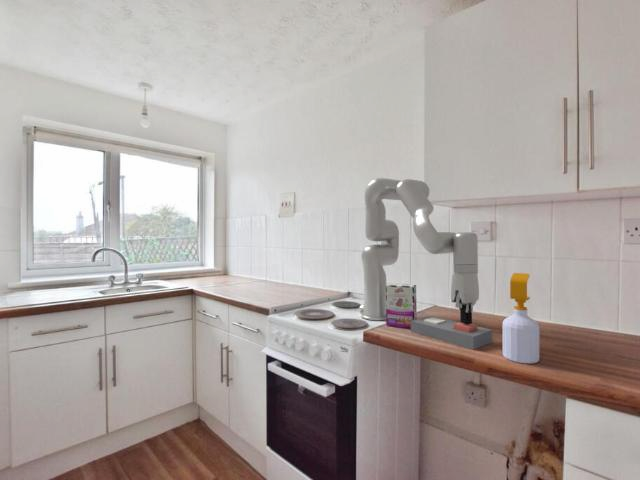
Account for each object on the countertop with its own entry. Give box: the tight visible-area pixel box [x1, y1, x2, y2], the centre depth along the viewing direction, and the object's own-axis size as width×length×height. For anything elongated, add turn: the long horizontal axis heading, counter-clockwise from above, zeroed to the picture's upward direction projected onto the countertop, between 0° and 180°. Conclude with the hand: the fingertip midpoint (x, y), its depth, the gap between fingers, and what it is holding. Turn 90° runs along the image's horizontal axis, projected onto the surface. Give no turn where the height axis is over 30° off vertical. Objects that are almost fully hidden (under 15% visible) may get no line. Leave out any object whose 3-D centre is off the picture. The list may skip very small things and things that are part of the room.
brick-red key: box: [454, 321, 479, 333], centre depth 111 cm, size 5×5×2 cm
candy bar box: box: [385, 283, 418, 330], centre depth 129 cm, size 11×5×16 cm, turn 62°
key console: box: [410, 315, 493, 350], centre depth 116 cm, size 24×12×4 cm, turn 36°
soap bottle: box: [502, 272, 540, 365], centre depth 95 cm, size 9×9×25 cm
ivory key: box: [424, 318, 445, 325], centre depth 121 cm, size 5×5×2 cm
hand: (466, 323), depth 111 cm, fingers closed
